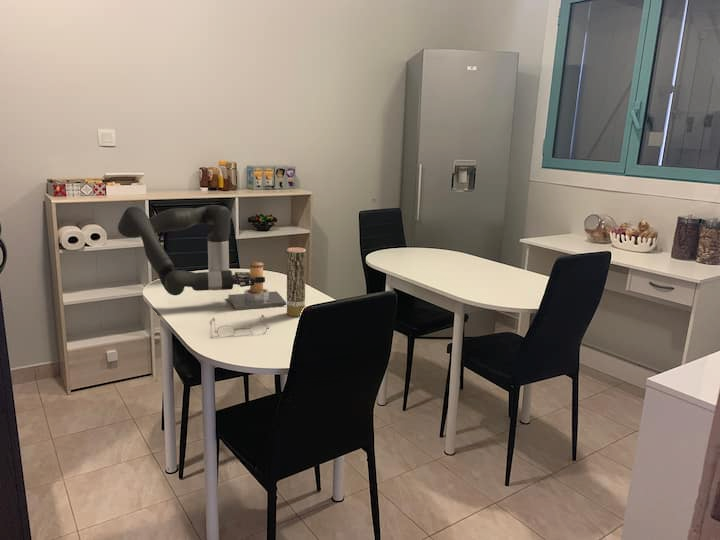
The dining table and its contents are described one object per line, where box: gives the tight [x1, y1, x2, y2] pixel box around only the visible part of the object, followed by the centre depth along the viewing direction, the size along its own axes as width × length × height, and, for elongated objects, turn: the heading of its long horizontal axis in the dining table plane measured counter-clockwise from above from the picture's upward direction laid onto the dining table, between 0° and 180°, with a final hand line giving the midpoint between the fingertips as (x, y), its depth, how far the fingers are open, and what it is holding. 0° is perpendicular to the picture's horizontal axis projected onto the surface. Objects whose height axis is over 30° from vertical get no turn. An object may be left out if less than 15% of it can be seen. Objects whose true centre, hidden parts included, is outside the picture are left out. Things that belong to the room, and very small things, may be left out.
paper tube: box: [286, 246, 307, 317], centre depth 209 cm, size 7×7×25 cm
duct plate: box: [227, 288, 287, 311], centre depth 225 cm, size 16×20×4 cm
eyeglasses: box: [213, 314, 270, 336], centre depth 198 cm, size 18×19×4 cm
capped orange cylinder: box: [249, 261, 264, 294], centre depth 223 cm, size 5×5×13 cm
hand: (263, 277), depth 224 cm, fingers closed on capped orange cylinder, 5 cm apart
